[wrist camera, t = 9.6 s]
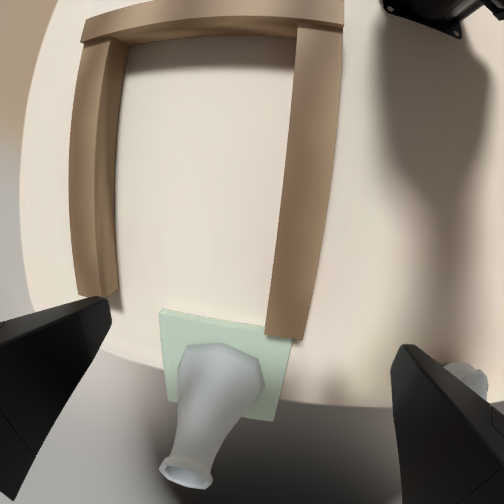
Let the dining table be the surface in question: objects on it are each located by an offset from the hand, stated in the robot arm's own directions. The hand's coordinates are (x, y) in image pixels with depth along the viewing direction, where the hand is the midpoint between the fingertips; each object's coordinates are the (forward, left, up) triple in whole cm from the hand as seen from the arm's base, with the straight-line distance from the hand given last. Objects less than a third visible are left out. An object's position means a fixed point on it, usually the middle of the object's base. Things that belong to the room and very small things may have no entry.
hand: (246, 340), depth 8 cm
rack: (+6, -5, -11) cm, 14 cm away
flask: (+3, +12, -11) cm, 16 cm away
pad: (+3, +12, -11) cm, 17 cm away
